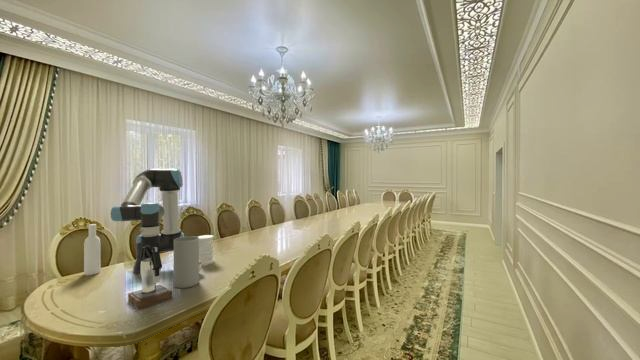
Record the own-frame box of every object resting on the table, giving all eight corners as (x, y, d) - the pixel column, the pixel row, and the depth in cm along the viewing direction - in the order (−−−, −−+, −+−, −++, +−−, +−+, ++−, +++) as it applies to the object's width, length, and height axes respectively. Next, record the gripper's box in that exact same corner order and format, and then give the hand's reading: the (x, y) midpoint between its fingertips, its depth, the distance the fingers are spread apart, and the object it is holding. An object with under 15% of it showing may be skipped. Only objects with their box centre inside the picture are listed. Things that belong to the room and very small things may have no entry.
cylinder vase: (181, 279, 155) (181, 236, 155) (203, 279, 155) (202, 236, 155) (168, 288, 143) (168, 241, 142) (192, 288, 142) (191, 241, 142)
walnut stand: (128, 301, 128) (128, 292, 128) (160, 291, 139) (160, 283, 139) (139, 309, 119) (139, 300, 119) (172, 298, 130) (172, 290, 130)
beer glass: (145, 287, 134) (145, 257, 133) (160, 287, 134) (160, 257, 134) (137, 293, 127) (137, 261, 126) (152, 293, 127) (152, 261, 127)
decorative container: (199, 260, 191) (199, 235, 191) (216, 259, 193) (216, 234, 193) (193, 265, 180) (193, 238, 180) (211, 265, 181) (211, 238, 181)
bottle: (104, 271, 169) (103, 223, 169) (91, 275, 161) (91, 225, 161) (93, 270, 170) (93, 223, 170) (80, 275, 163) (80, 225, 163)
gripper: (131, 233, 134) (132, 275, 134) (151, 240, 118) (152, 288, 119) (148, 230, 140) (149, 271, 140) (170, 237, 124) (170, 283, 124)
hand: (150, 279), depth 129 cm, fingers open, 13 cm apart
